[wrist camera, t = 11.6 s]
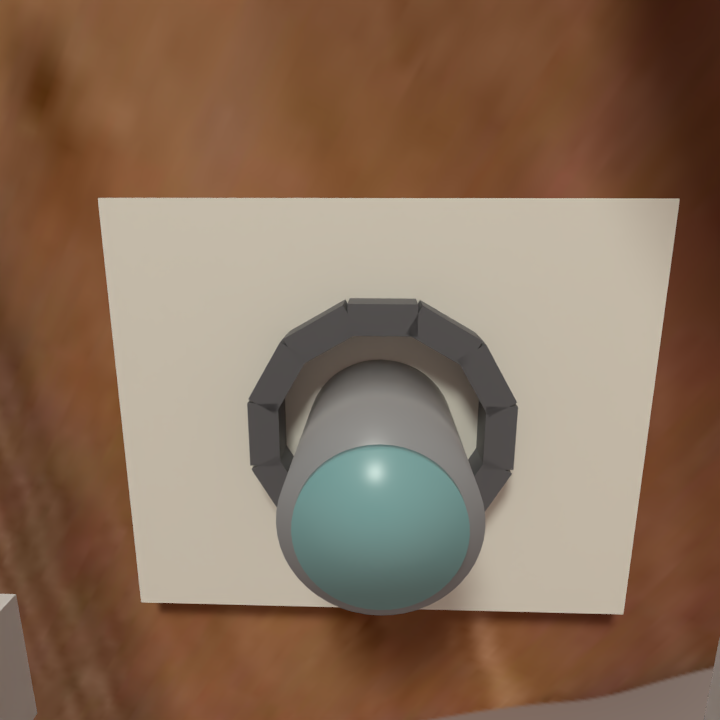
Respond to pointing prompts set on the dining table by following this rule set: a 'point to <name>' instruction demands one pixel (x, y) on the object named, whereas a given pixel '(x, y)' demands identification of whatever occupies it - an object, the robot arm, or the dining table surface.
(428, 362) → the barrel board
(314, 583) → the teal capped cylinder
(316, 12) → the dining table surface
